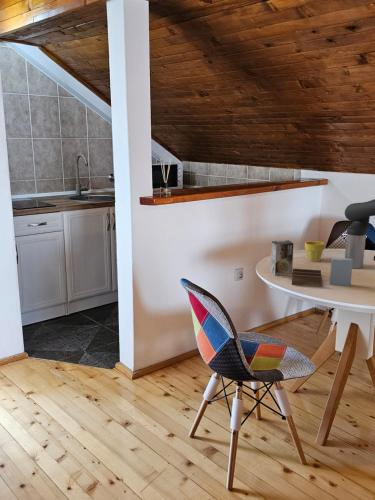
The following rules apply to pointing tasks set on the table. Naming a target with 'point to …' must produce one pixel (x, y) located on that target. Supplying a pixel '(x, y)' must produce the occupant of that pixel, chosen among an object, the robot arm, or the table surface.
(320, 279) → the rack
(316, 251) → the plant pot
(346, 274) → the light grey upright block
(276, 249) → the coffee box
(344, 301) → the table surface
